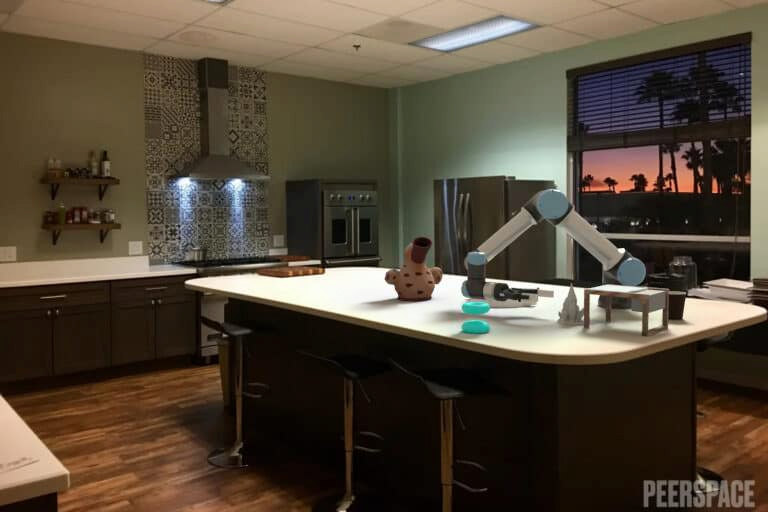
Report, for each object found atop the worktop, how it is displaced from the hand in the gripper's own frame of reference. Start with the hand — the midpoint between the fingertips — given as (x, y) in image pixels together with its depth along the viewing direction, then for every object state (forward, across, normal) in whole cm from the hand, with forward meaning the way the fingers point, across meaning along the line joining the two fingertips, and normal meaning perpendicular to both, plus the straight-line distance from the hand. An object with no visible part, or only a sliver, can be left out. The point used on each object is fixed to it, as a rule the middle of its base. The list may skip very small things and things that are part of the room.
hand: (545, 296), depth 251 cm
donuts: (-9, +36, -10) cm, 39 cm away
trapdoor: (+31, +1, -1) cm, 31 cm away
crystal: (+10, 0, -9) cm, 14 cm away
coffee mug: (+39, -31, -9) cm, 50 cm away
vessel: (-73, -15, -10) cm, 75 cm away
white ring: (-36, -29, -10) cm, 47 cm away
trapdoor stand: (+30, +1, -9) cm, 31 cm away
